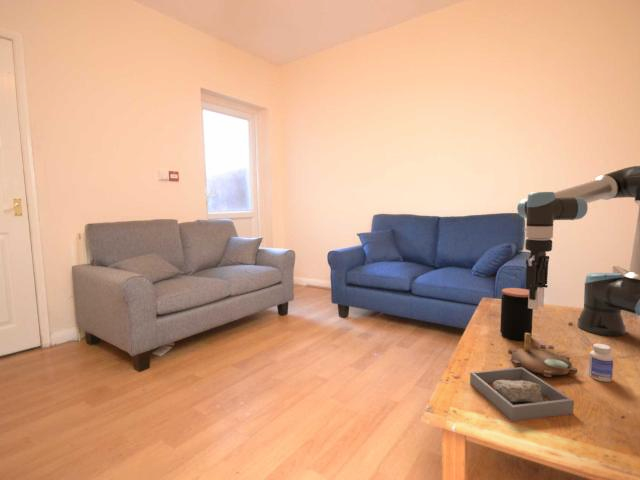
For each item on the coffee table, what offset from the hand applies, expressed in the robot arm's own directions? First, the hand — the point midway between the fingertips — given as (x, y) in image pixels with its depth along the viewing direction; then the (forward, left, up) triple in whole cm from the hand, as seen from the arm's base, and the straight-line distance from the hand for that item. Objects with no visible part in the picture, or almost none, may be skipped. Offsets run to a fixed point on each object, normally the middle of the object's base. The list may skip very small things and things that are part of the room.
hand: (535, 307), depth 116 cm
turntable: (+5, +9, -15) cm, 18 cm away
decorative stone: (+24, +23, -17) cm, 37 cm away
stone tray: (+24, +23, -17) cm, 37 cm away
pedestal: (+5, +9, -17) cm, 19 cm away
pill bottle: (-7, +18, -17) cm, 25 cm away
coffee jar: (-5, -15, -17) cm, 23 cm away
